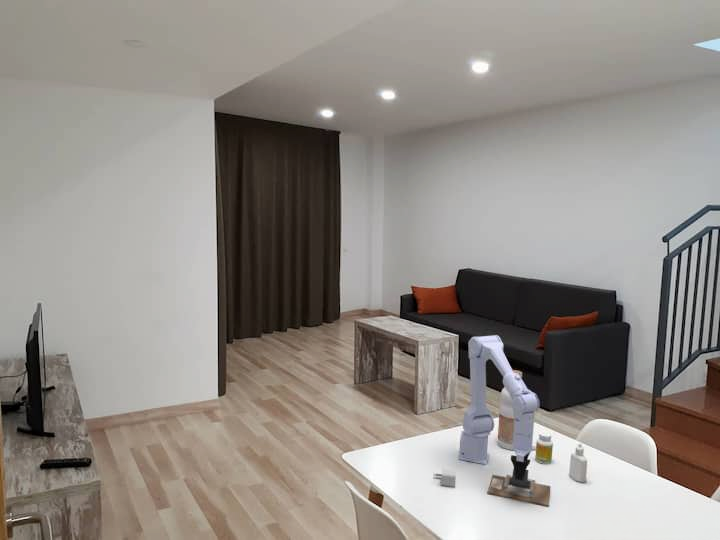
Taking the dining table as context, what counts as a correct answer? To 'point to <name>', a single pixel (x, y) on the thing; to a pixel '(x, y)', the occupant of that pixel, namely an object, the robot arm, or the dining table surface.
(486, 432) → the robot arm
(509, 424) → the fruit juice
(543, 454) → the supplement bottle
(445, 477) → the usb wall charger
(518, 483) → the plug
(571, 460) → the eye dropper bottle
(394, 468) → the dining table surface
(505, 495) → the socket dock
